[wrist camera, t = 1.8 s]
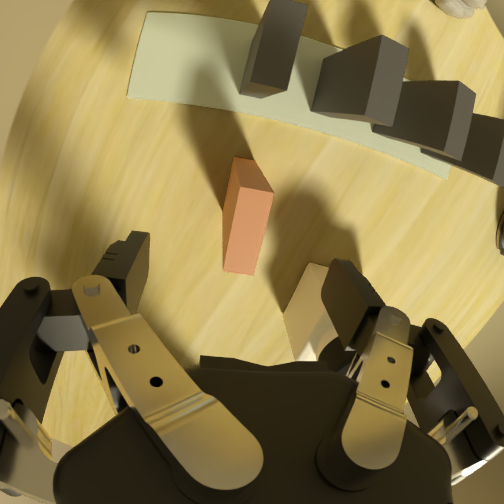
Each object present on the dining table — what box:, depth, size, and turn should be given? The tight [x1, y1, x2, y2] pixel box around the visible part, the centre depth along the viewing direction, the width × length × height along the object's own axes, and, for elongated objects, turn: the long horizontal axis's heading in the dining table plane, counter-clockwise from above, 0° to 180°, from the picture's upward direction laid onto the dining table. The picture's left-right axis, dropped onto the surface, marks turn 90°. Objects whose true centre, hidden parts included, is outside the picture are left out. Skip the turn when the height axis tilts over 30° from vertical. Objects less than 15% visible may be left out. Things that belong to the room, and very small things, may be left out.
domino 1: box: [239, 0, 308, 99], centre depth 15 cm, size 2×5×10 cm, turn 168°
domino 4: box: [372, 81, 476, 161], centre depth 17 cm, size 2×5×10 cm, turn 167°
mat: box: [127, 12, 451, 180], centre depth 21 cm, size 32×8×1 cm, turn 78°
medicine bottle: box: [283, 263, 357, 376], centre depth 26 cm, size 7×7×12 cm
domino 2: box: [223, 157, 274, 276], centre depth 20 cm, size 2×5×10 cm, turn 168°
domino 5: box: [421, 113, 504, 188], centre depth 19 cm, size 2×5×10 cm, turn 168°
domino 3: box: [311, 35, 409, 127], centre depth 16 cm, size 2×5×10 cm, turn 167°
